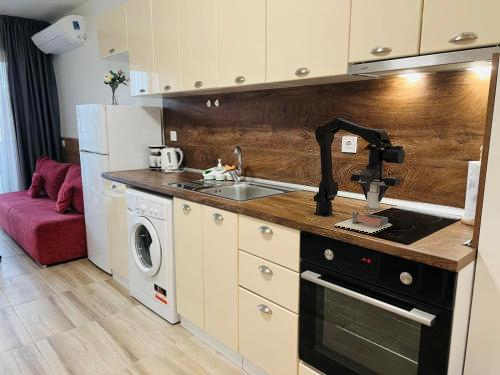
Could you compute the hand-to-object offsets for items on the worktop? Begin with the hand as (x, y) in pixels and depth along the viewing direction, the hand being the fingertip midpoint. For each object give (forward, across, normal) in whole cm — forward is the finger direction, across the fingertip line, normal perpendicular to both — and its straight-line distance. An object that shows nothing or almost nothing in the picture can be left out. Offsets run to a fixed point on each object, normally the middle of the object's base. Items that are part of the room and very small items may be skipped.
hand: (373, 200), depth 147 cm
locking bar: (+9, 0, -5) cm, 11 cm away
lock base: (+10, -2, -3) cm, 11 cm away
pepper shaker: (+3, 0, 0) cm, 3 cm away
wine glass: (+10, -14, +28) cm, 33 cm away
